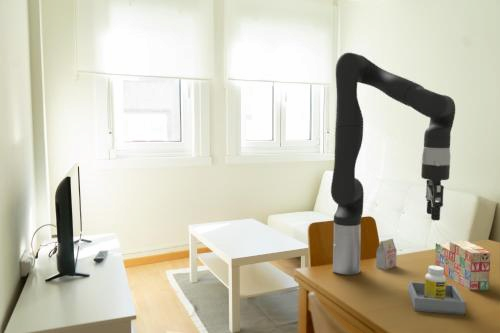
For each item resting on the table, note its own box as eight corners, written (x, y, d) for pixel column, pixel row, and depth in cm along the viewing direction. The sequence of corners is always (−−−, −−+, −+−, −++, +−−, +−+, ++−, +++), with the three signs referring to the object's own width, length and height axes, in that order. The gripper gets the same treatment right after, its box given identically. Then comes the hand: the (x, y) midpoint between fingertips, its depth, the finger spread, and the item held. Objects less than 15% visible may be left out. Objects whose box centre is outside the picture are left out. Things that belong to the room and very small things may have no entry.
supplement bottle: (436, 306, 109) (437, 271, 109) (420, 299, 114) (421, 266, 113) (449, 302, 112) (450, 268, 111) (432, 295, 117) (434, 263, 116)
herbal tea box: (376, 267, 144) (376, 240, 143) (387, 263, 148) (388, 237, 147) (384, 269, 141) (385, 242, 140) (396, 266, 145) (396, 239, 144)
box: (414, 310, 108) (414, 297, 108) (408, 292, 121) (408, 281, 120) (465, 315, 105) (465, 302, 105) (453, 296, 117) (453, 285, 117)
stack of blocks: (434, 267, 143) (435, 234, 142) (451, 267, 143) (452, 234, 142) (469, 291, 122) (471, 252, 121) (489, 290, 122) (491, 251, 121)
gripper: (418, 160, 124) (416, 211, 126) (425, 164, 111) (422, 221, 112) (445, 161, 122) (442, 213, 124) (455, 165, 108) (451, 223, 110)
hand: (432, 216), depth 118 cm, fingers open, 8 cm apart
